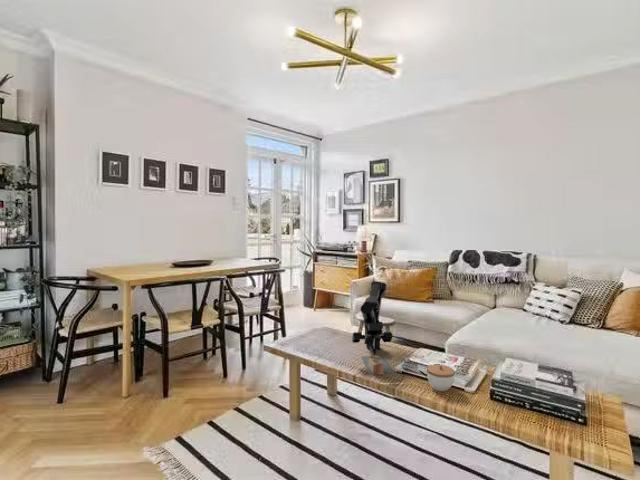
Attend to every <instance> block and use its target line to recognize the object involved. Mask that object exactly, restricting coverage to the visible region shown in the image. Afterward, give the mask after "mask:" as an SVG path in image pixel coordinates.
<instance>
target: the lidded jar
mask: <svg viewBox="0 0 640 480" xmlns="http://www.w3.org/2000/svg"><path fill="white" fill-rule="evenodd" d="M455 373H456V372H455V369H454V368H452V367H450V366H449V365H445V364H441V365H440V364H434V365H430V366H428V367H427V374H426V375H427V380H428V382H429V385H430V386H431V387H432V388H433V390H435V391H438V392H446V391H449V389H450V388H451V387H452V386H453V384H454V381H455Z"/></svg>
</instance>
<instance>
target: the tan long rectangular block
mask: <svg viewBox="0 0 640 480" xmlns="http://www.w3.org/2000/svg"><path fill="white" fill-rule="evenodd" d="M368 356H369V367H370V369H371V371H372V373H371V374H372V375H373V376H375V375H384V373H383V363H382V361H381V360H380V358H379V356H380V355H368Z"/></svg>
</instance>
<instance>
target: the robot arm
mask: <svg viewBox="0 0 640 480" xmlns="http://www.w3.org/2000/svg"><path fill="white" fill-rule="evenodd" d="M387 291H388V284H387V283H385V282H382V281H380V280H379V281H377V280H374V281H372V282H371V283H370V292H369V296H368V297H366V298H365V300H364V302H363V303H362V305H361V306H360V312H361V315H362V318H363V325H364V334H362V332H361V331H360V332H358V331H357V332H356V331H354V332H353V333H352V336H351V342H352V343H353V344H354V343H355V344H356V343H357V344H358V343H360V342H361V340H364V342H363V343H364V345H365V347H366V348H367V349H368V350H369V351H370V352H371V354H372V356H376V353H377V351H378V350H380V351H381V341H382V342H383V343H390V342H392V339H393V337H394V336H393V332H391V331H383V328H384V324H383V321H380V313H381V305H382V299H383V298H384V296H385V295H386V292H387Z"/></svg>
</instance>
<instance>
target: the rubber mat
mask: <svg viewBox="0 0 640 480" xmlns="http://www.w3.org/2000/svg"><path fill="white" fill-rule="evenodd" d="M369 356H370V355H361V356H360V358H361V360H362V362H363V364H364V366H365V369H366V371H367V373H368V374H370V375H371V374H373V373H372V371H371V369H370V367H369ZM378 356H379V358H380V360H381V361H382V363H383V374H395V373H396V371H395V370H394V368H393V367H392V366H391V364H390V362H389V361H388V359H387V357H386V356H385V355H378Z"/></svg>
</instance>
